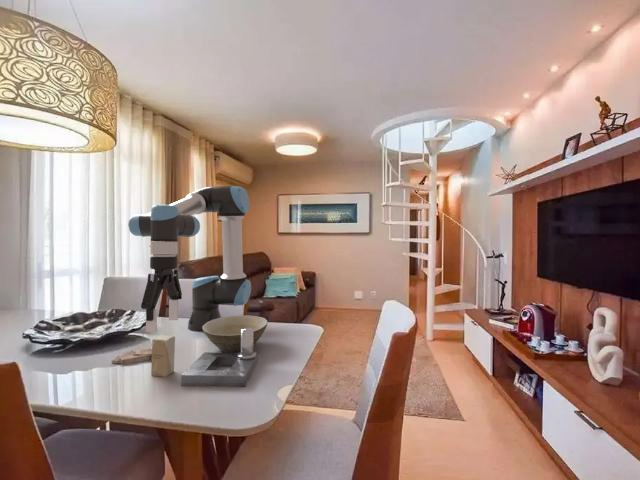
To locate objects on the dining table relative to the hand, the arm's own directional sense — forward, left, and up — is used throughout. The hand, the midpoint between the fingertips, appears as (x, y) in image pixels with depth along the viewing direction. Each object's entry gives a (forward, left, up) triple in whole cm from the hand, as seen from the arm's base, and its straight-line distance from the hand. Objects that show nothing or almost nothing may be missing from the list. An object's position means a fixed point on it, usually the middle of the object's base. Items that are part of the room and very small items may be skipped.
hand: (163, 325), depth 99 cm
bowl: (-23, +16, -15) cm, 32 cm away
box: (0, 0, -15) cm, 15 cm away
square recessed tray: (-1, +18, -15) cm, 23 cm away
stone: (-12, -15, -15) cm, 25 cm away
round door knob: (-7, +24, -15) cm, 29 cm away
